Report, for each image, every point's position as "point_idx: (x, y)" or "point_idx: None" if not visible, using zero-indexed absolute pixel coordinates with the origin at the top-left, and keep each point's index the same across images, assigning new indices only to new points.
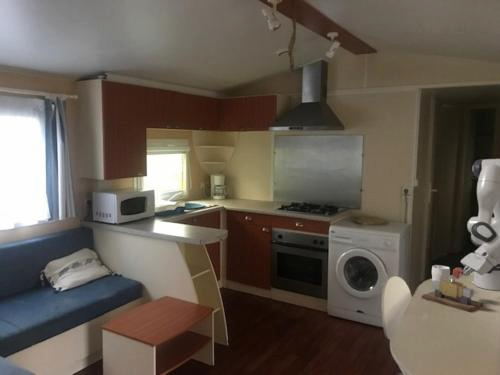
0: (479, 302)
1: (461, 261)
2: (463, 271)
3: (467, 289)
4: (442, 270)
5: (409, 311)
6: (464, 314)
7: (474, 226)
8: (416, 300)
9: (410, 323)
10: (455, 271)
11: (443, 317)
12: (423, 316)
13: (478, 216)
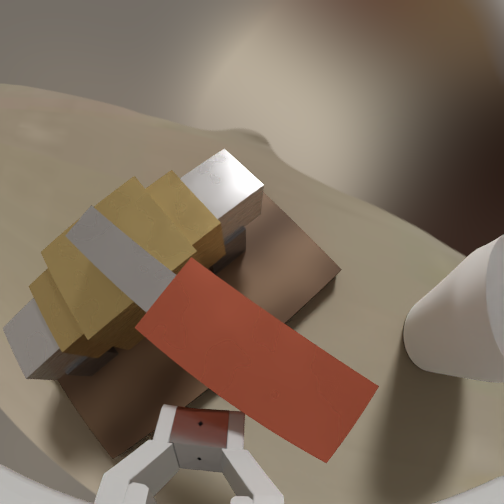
0: (118, 444)
1: (492, 489)
2: (211, 434)
3: (17, 321)
4: (477, 294)
5: (78, 99)
6: (14, 278)
7: None
8: (190, 136)
9: (14, 99)
10: (170, 292)
11: (10, 183)
12: (34, 129)
13: None
